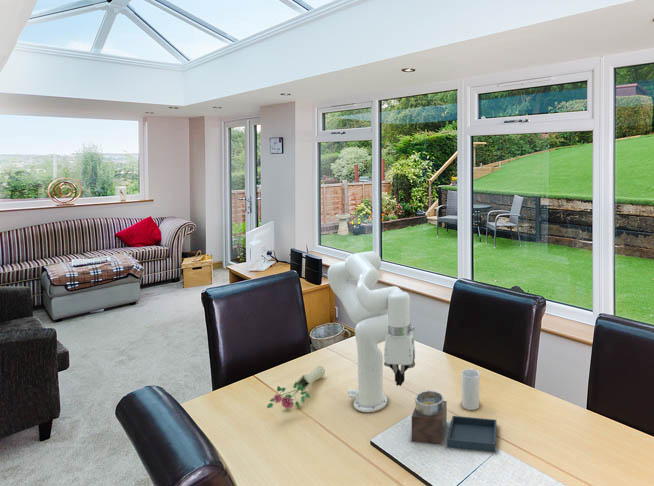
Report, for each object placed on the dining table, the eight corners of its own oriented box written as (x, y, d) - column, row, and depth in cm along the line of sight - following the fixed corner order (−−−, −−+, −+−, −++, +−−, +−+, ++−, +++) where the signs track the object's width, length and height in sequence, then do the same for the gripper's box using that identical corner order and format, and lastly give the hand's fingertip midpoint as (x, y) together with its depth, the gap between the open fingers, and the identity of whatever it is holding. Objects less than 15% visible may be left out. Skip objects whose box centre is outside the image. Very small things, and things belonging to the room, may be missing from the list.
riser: (411, 441, 139) (411, 416, 139) (418, 421, 149) (418, 398, 150) (441, 444, 137) (441, 419, 137) (446, 424, 148) (446, 400, 148)
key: (422, 406, 144) (422, 404, 144) (423, 402, 146) (423, 401, 146) (436, 407, 143) (436, 405, 143) (437, 403, 145) (437, 402, 145)
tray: (447, 447, 136) (447, 439, 136) (452, 422, 149) (452, 415, 149) (495, 452, 133) (495, 444, 133) (496, 427, 146) (496, 419, 146)
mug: (477, 412, 155) (476, 378, 155) (459, 408, 157) (459, 375, 158) (483, 398, 164) (483, 366, 165) (467, 395, 167) (466, 364, 167)
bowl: (413, 415, 140) (413, 404, 140) (419, 399, 149) (419, 389, 149) (440, 417, 138) (440, 406, 138) (445, 402, 147) (445, 391, 147)
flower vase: (325, 398, 179) (291, 428, 145) (299, 387, 181) (259, 415, 147) (335, 369, 182) (304, 392, 148) (309, 359, 183) (273, 379, 150)
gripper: (422, 326, 148) (423, 380, 148) (381, 324, 151) (381, 377, 150) (418, 334, 141) (418, 391, 140) (374, 332, 144) (375, 387, 143)
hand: (399, 383), depth 145 cm, fingers closed
